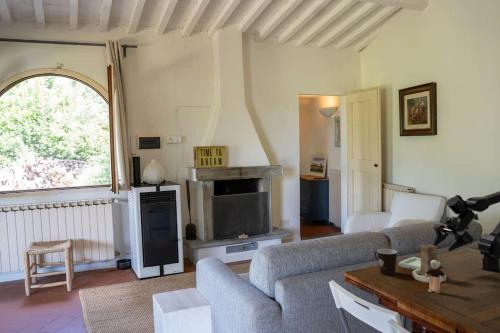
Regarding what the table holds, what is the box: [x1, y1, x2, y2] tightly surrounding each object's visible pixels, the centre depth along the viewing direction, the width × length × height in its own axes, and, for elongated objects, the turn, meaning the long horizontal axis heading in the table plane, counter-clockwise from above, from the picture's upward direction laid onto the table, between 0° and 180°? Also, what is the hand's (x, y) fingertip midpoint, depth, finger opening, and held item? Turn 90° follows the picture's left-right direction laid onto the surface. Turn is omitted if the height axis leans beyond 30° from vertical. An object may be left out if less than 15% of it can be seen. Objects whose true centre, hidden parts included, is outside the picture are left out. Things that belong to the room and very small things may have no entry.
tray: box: [398, 256, 441, 271], centre depth 190 cm, size 13×13×2 cm
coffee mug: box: [374, 248, 398, 276], centre depth 184 cm, size 12×9×10 cm
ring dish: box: [411, 269, 447, 283], centre depth 174 cm, size 12×12×2 cm
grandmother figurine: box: [425, 260, 447, 294], centre depth 158 cm, size 8×4×13 cm, turn 68°
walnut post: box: [420, 243, 438, 277], centre depth 174 cm, size 5×5×14 cm
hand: (441, 248), depth 175 cm, fingers open, 9 cm apart
